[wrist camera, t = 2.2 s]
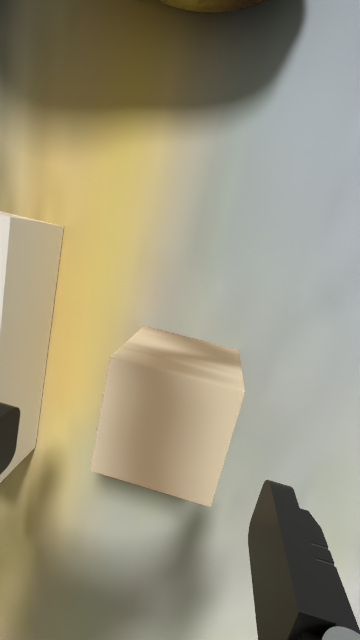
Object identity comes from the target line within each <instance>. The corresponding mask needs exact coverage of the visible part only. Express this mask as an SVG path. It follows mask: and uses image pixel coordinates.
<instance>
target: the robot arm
mask: <svg viewBox="0 0 360 640" xmlns="http://www.w3.org/2000/svg"><path fill="white" fill-rule="evenodd" d="M19 421H20V409H19V408H18V407H15V406H12V405H8V404H5V403H1V402H0V474H1V473H2V472H3V471H4V470H5V469H6V468H7V467H8V466H9V464H10V462H11V461H12V459H13V457H14V454H15V451H16V445H17V437H18V429H19ZM248 546H249V556H250V565H251V575H252V584H253V594H254V604H255V613H256V623H257V633H258V640H360V630H359V627H358V625H357V622H356V619H355V617H354V614H353V611H352V609H351V606H350V603H349V601H348V598H347V595H346V593H345V590H344V587H343V585H342V582H341V580H340V577H339V574H338V572H337V569H336V567H334V561H333V558H332V556H331V553H330V551H329V550H328V545H327V542H326V540H325V537H324V534H323V532H322V529H321V527H320V526H319V525H318V523H317V522H316V521H315V519H314V518H313V517H312V515H311V514H310V513H309V511H307V510H303V509H300V508H299V505H298V502H297V499H296V496H295V492H294V490H293V488H292V487H290V486H287V485H283V484H280V483H276V482H273V481H269V480H266V481H265V482H264V484H263V487H262V489H261V492H260V495H259V498H258V501H257V504H256V507H255V509H254V512H253V515H252V518H251V521H250V526H249V533H248Z"/></svg>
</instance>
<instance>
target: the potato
mask: <svg viewBox="0 0 360 640" xmlns="http://www.w3.org/2000/svg"><path fill="white" fill-rule="evenodd" d="M158 1H160V2H163V3H165V4H168V5H170V6H173V7H176V8H181V9H185V10H189V11H195V12H208V13H214V12H225V11H231V10H237V9H241V8H244V7H247V6H250V5H254V4H257V3H261V2H264V1H268V0H158Z"/></svg>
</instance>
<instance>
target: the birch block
mask: <svg viewBox="0 0 360 640" xmlns="http://www.w3.org/2000/svg"><path fill="white" fill-rule="evenodd" d="M244 394H245V389H244V383H243V376H242V369H241V362H240V355H239V350H237V349H233V348H229V347H225V346H221V345H217V344H213V343H209V342H205V341H201V340H198V339H194V338H190V337H186V336H182V335H178V334H174V333H170V332H166V331H162V330H158V329H155V328H151V327H147V326H143V327H142V328H141V329H140V330H139V331H138V332H137V333H136V334H134V335H133V336H132V337H131V338H130V339H129V340H128V341H127V342H126V343H124V344H123V345H122V346H121V347H120V348H119V349H118V350H117V351H116V352H114V353H113V354H112V355H111V356H110V360H109V365H108V371H107V377H106V382H105V388H104V394H103V399H102V405H101V410H100V416H99V422H98V427H97V433H96V438H95V444H94V450H93V455H92V461H91V466H90V471H93V472H96V473H100V474H103V475H106V476H110V477H113V478H116V479H119V480H123V481H126V482H129V483H133V484H136V485H139V486H143V487H146V488H149V489H152V490H156V491H159V492H162V493H166V494H169V495H172V496H176V497H179V498H182V499H186V500H189V501H192V502H195V503H199V504H202V505H205V506H209V507H211V505H212V501H213V498H214V494H215V491H216V488H217V484H218V481H219V478H220V474H221V471H222V468H223V464H224V461H225V458H226V454H227V451H228V448H229V444H230V441H231V437H232V434H233V431H234V427H235V424H236V421H237V417H238V414H239V411H240V407H241V404H242V401H243V397H244Z"/></svg>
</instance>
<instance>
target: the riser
mask: <svg viewBox="0 0 360 640" xmlns="http://www.w3.org/2000/svg"><path fill="white" fill-rule="evenodd" d="M63 230H64V226H61V225H57V224H53V223H48V222H44V221H40V220H35V219H31V218H27V217H23V216H18V215H14V214H10V213H6V212H1V211H0V402H1V403H5V404H8V405H12V406H15V407H18V408H19V409H20V421H19V429H18V437H17V445H16V451H15V454H14V457H13V459H12V461H11V462H10V464H9V466H8V467H7V468H6V469H5V470H4V471H3V472H2V473H1V474H0V483H1V482H2V480H3V479H4V478H5V477H6V476H7V475H8V474H9V473H10V472H11V471H12V470H13V469H14V468H15V467H16V466H17V465H18V464H19V463H20V462H21V461H22V460H23V459H24V458H25V457H26V456H27V455H28V454H29V453H30V452H31V451H32V450H33V449H34V448H35V447H36V439H37V432H38V424H39V416H40V408H41V401H42V393H43V385H44V377H45V370H46V362H47V354H48V346H49V339H50V331H51V323H52V315H53V308H54V300H55V292H56V284H57V277H58V269H59V261H60V253H61V246H62V238H63Z"/></svg>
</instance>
